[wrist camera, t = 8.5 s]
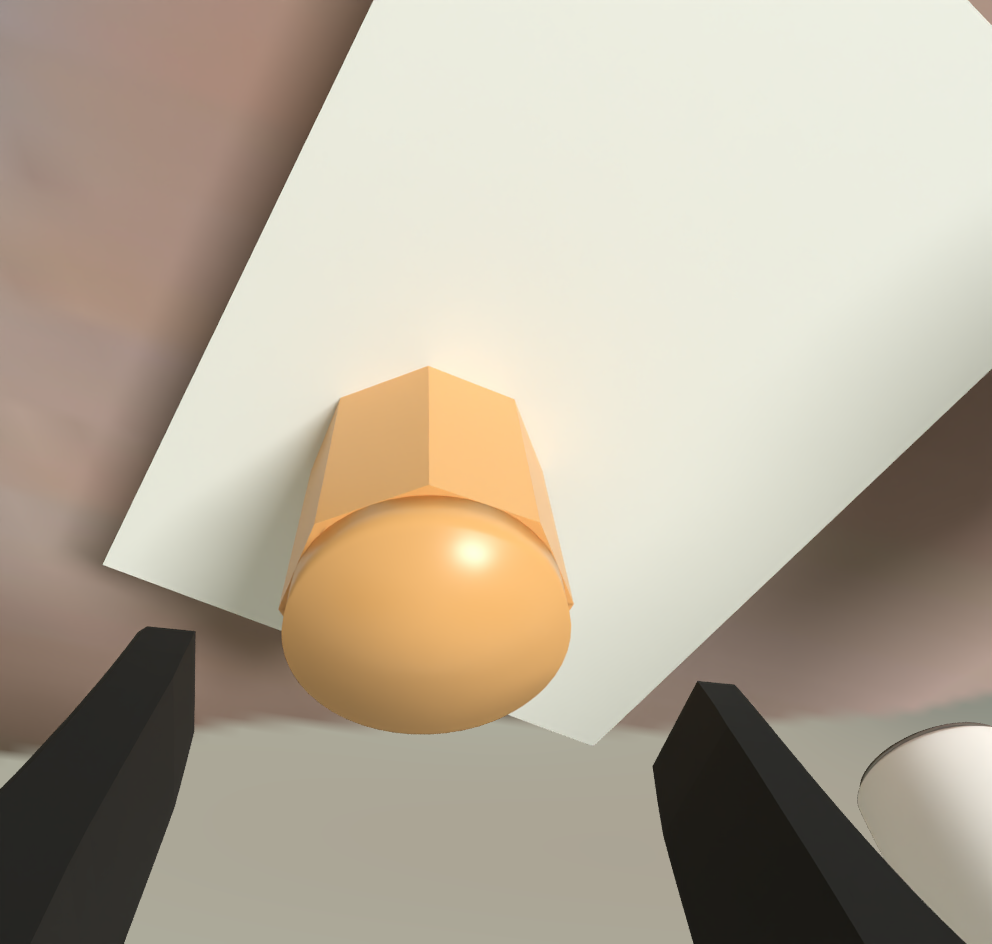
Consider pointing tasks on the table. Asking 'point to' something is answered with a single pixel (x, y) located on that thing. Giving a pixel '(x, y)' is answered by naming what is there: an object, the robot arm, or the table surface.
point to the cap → (426, 561)
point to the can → (938, 821)
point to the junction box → (609, 295)
